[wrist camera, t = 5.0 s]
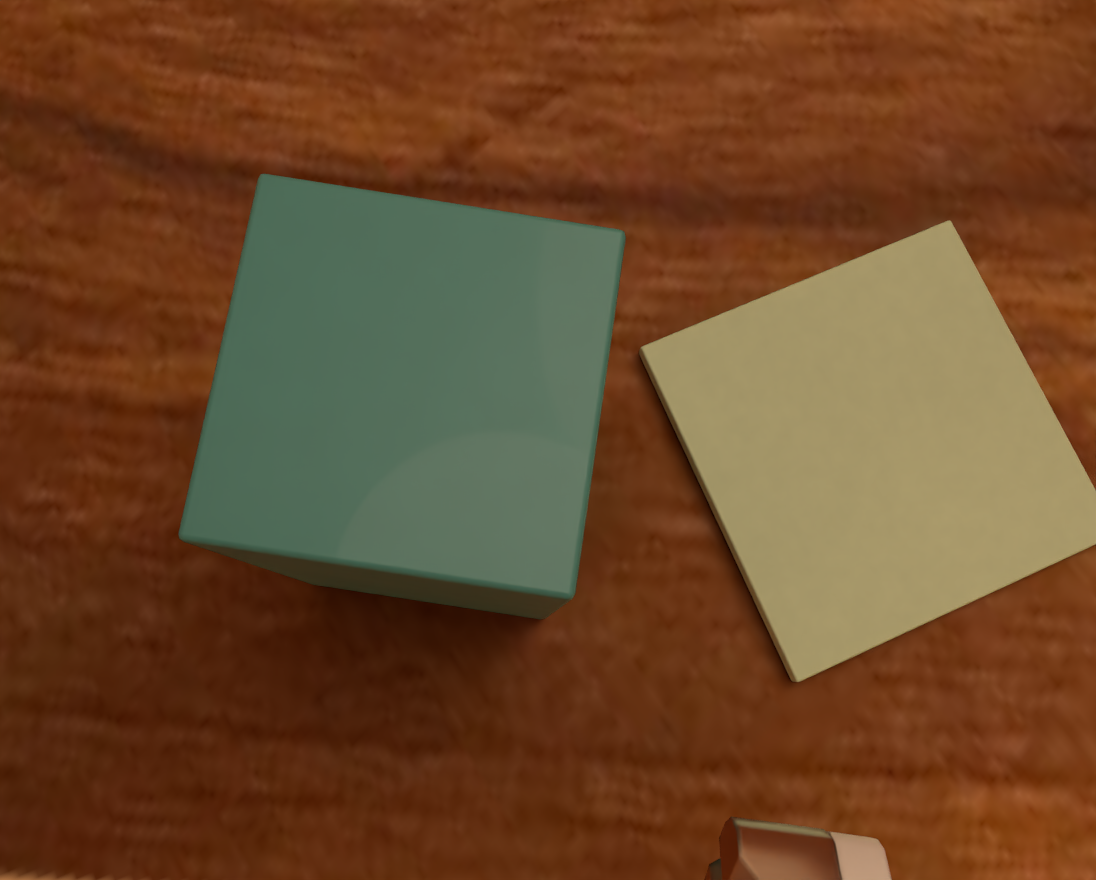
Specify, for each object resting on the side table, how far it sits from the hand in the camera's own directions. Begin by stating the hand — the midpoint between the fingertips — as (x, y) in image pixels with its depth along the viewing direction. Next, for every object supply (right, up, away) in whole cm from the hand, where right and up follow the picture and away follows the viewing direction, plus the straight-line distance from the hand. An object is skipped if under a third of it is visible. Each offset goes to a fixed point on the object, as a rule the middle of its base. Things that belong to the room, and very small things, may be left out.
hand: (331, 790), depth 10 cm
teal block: (0, +3, +9) cm, 10 cm away
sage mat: (+9, +4, +10) cm, 13 cm away
